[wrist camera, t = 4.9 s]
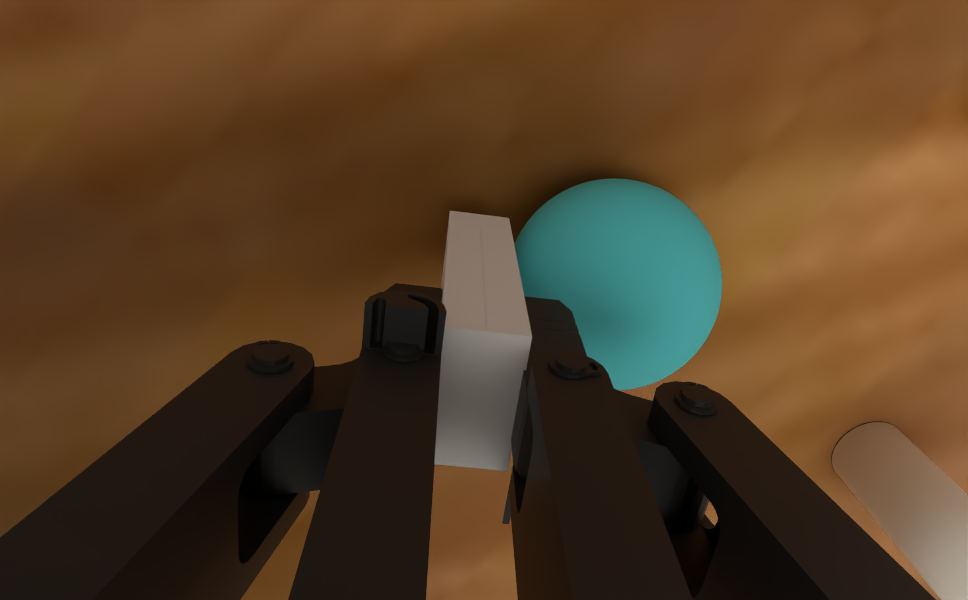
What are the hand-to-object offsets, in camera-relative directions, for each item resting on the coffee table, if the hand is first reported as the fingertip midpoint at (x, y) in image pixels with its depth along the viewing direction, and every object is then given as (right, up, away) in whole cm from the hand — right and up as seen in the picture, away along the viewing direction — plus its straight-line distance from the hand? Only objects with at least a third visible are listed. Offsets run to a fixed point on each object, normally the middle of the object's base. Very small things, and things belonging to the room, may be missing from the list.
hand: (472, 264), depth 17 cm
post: (+14, -6, +7) cm, 17 cm away
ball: (+4, 0, 0) cm, 4 cm away
